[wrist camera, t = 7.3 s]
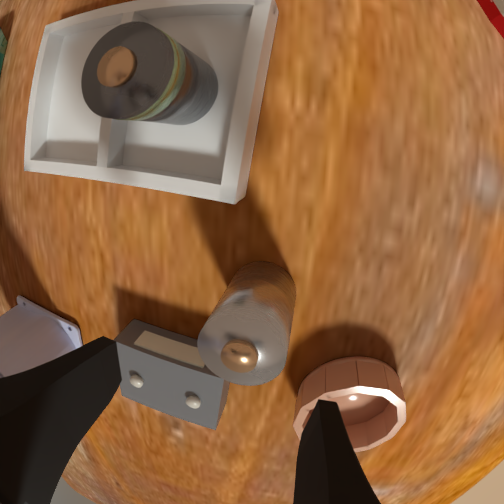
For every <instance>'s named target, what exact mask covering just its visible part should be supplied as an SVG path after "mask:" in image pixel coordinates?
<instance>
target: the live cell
mask: <svg viewBox="0 0 504 504" xmlns="http://www.w3.org/2000/svg"><path fill="white" fill-rule="evenodd" d="M81 88H82V94H83V98H84V100H85V102H86V104H87V106H88V107H89V108H90V110H91V111H92V112H94V113H95V114H97V115H98V116H101V117H104V118H111V119H116V120H128V121H146V122H155V123H164V124H172V125H187V124H191V123H193V122H196V121H198V120H199V119H201V118H202V117H203V116H205V115H206V114H207V113H208V112H209V110H210V109H211V108H212V106H213V104H214V102H215V100H216V97H217V94H218V79H217V76H216V73H215V72H214V70H213V68H212V67H211V66H210V65H209V64H208V63H206V62H205V61H204V60H202V59H201V58H200V57H198V56H197V55H195V54H194V53H193V52H191V51H190V50H188V49H187V48H186V47H184V46H183V45H181V44H180V43H178V42H177V41H176V40H175V39H174V38H172V37H171V36H169V35H168V34H166V33H165V32H163V31H162V30H160V29H158V28H156V27H154V26H152V25H151V24H148V23H145V22H140V21H134V22H128V23H124V24H121V25H119V26H117V27H115V28H113V29H112V30H110V31H109V32H107V33H106V34H105V35H104V36H103V37H102V38H101V39H100V40H99V41H98V42H97V43H96V44H95V46H94V47H93V48H92V50H91V51H90V53H89V55H88V57H87V59H86V62H85V64H84V68H83V72H82V78H81Z"/></svg>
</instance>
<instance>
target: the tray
mask: <svg viewBox="0 0 504 504" xmlns="http://www.w3.org/2000/svg"><path fill="white" fill-rule="evenodd" d="M278 13H279V12H278V8H277V5H276V2H275V0H135V1H130V2H125V3H120V4H116V5H111V6H107V7H103V8H99V9H95V10H92V11H88V12H85V13H81V14H78V15H75V16H71V17H68V18H65V19H62V20H60V21H57V22H54V23H51V24H49V25H46V27H45V30H44V34H43V37H42V41H41V45H40V49H39V53H38V57H37V62H36V66H35V71H34V76H33V82H32V88H31V94H30V101H29V108H28V116H27V126H26V138H25V155H24V171H32V172H41V173H49V174H56V175H64V176H71V177H79V178H86V179H92V180H99V181H106V182H112V183H119V184H125V185H131V186H137V187H143V188H149V189H155V190H161V191H166V192H172V193H178V194H183V195H188V196H194V197H199V198H204V199H210V200H215V201H220V202H225V203H230V204H236V203H237V202H238V201H240V200H241V199H243V198H244V197H245V196H246V190H247V184H248V178H249V172H250V166H251V160H252V155H253V149H254V143H255V137H256V132H257V126H258V120H259V115H260V109H261V104H262V98H263V93H264V87H265V82H266V76H267V71H268V65H269V60H270V55H271V49H272V44H273V39H274V34H275V28H276V23H277V18H278ZM134 21H140V22H145V23H148V24H151V25H152V26H154V27H156V28H158V29H160V30H162V31H163V32H165V33H166V34H168V35H169V36H171V37H172V38H174V39H175V40H176V41H177V42H178V43H180V44H181V45H183V46H184V47H186V48H187V49H188V50H190V51H191V52H193V53H194V54H195V55H197V56H198V57H200V58H201V59H202V60H204V61H205V62H206V63H208V64H209V65H210V66H211V67H212V68H213V70H214V72H215V73H216V76H217V79H218V94H217V97H216V100H215V102H214V104H213V106H212V108H211V109H210V110H209V112H208V113H207V114H206V115H205V116H203V117H202V118H201V119H199V120H198V121H196V122H193V123H191V124H187V125H172V124H164V123H155V122H146V121H128V120H116V119H111V118H104V117H101V116H98V115H97V114H95V113H94V112H92V111H91V110H90V108H89V107H88V106H87V104H86V102H85V100H84V98H83V94H82V88H81V78H82V72H83V68H84V64H85V62H86V59H87V57H88V55H89V53H90V51H91V50H92V48H93V47H94V46H95V44H96V43H97V42H98V41H99V40H100V39H101V38H102V37H103V36H104V35H105V34H106V33H107V32H109V31H110V30H112V29H113V28H115V27H117V26H119V25H121V24H124V23H128V22H134Z"/></svg>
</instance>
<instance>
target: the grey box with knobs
mask: <svg viewBox="0 0 504 504" xmlns="http://www.w3.org/2000/svg"><path fill="white" fill-rule="evenodd" d="M113 341H116V343H117V351H118V357H119V364H120V370H121V376H122V381H121V383H120V388H121V393H122V396H124V397H127V398H129V399H131V400H134V401H136V402H138V403H141V404H143V405H145V406H148V407H150V408H153V409H155V410H158V411H161V412H163V413H166V414H169V415H171V416H174V417H177V418H180V419H183V420H186V421H188V422H191V423H195V424H198V425H201V426H204V427H207V428H210V429H214V430H216V428H217V425H218V423H219V420H220V418H221V415H222V412H223V410H224V407H225V404H226V400H227V395H228V389H229V384H230V382H229V381H226V380H224V379H222V378H220V377H219V376H217V375H216V374H214V373H213V372H212V371H211V370H210V369H209V368H208V367H207V366H206V365H205V364H204V362H203V361H202V359H201V357H200V355H199V351H198V346H197V341H198V340H197V339H193V338H190V337H187V336H184V335H181V334H177V333H174V332H171V331H168V330H165V329H162V328H159V327H156V326H153V325H150V324H147V323H145V322H142V321H139V320H136V319H133V320H132V321H131V322H130V323H129V324H128V325H127V326H126V328H125V329H124V330H123V331H122V332H121V333H120V334H119V335H118V336H117V337H116V338H115V339H114V340H113Z"/></svg>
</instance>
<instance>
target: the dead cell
mask: <svg viewBox="0 0 504 504" xmlns="http://www.w3.org/2000/svg"><path fill="white" fill-rule="evenodd" d="M295 300H296V287H295V284H294V281H293V279H292V278H291V276H290V275H289V274H288V273H287V272H286V271H285V270H284V269H283V268H281V267H280V266H278V265H276V264H273V263H270V262H262V261H260V262H253V263H249V264H247V265H245V266H243V267H242V268H241V269H239V270H238V271H237V273H236V274H235V276H234V277H233V279H232V281H231V282H230V284H229V285H228V287H227V289H226V290H225V292H224V294H223V295H222V297H221V298H220V300H219V302H218V303H217V305H216V307H215V308H214V310H213V312H212V313H211V315H210V316H209V318H208V320H207V321H206V323H205V325H204V326H203V328H202V330H201V331H200V333H199V336H198V341H197V346H198V351H199V355H200V357H201V359H202V361H203V362H204V364H205V365H206V366H207V367H208V368H209V369H210V370H211V371H212V372H213V373H214V374H216V375H217V376H219V377H220V378H222V379H224V380H226V381H229V382H232V383H235V384H239V385H250V386H251V385H260V384H263V383H267V382H269V381H271V380H273V379H274V378H276V377H277V376H278V375H279V374H280V373H281V371H282V370H283V368H284V366H285V363H286V358H287V352H288V346H289V340H290V333H291V327H292V320H293V314H294V307H295Z"/></svg>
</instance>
